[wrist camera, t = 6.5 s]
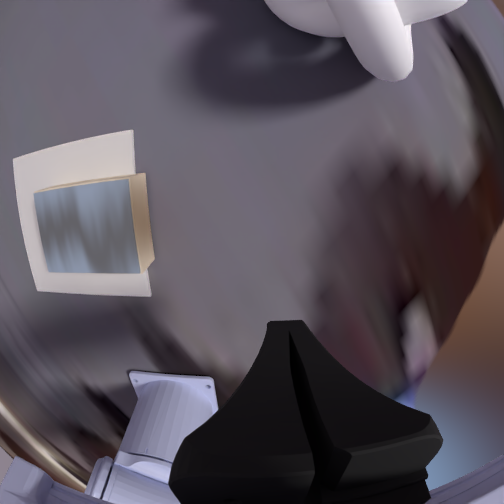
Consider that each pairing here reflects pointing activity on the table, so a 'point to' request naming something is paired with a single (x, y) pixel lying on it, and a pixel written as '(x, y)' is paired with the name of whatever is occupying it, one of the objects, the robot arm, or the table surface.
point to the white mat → (68, 171)
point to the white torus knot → (366, 27)
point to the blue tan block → (96, 225)
